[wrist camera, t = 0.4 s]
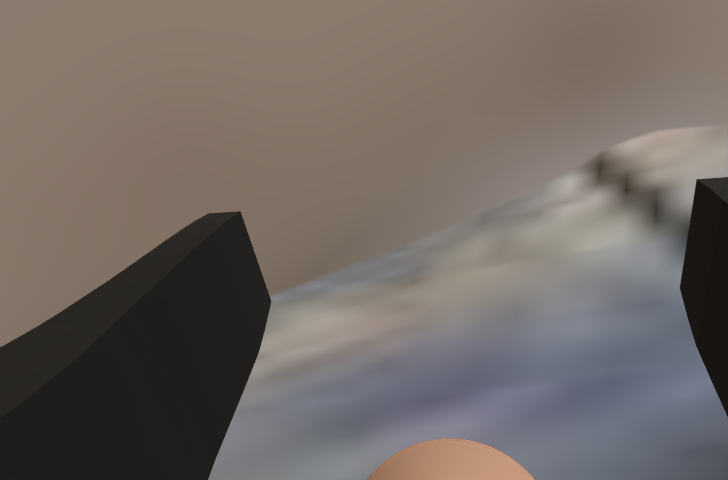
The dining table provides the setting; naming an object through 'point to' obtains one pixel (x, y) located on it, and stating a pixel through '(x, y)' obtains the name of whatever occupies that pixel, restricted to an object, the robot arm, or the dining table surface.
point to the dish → (450, 463)
